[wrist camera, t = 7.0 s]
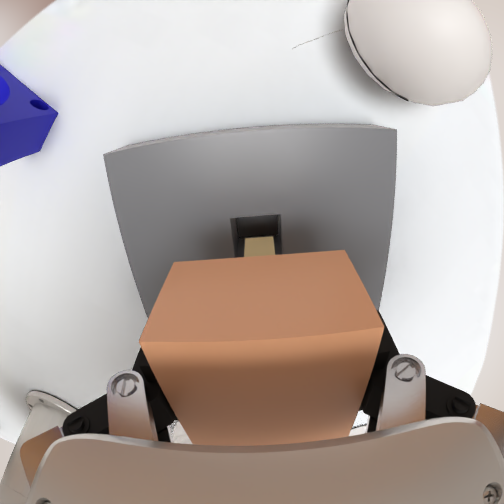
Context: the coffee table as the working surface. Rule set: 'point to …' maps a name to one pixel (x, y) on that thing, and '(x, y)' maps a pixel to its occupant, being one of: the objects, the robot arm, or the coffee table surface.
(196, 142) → the flat gray square plate
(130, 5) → the coffee table surface
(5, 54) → the coffee table surface
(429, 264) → the coffee table surface
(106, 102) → the coffee table surface
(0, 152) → the cable clip
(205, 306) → the tan block
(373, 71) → the white piece
